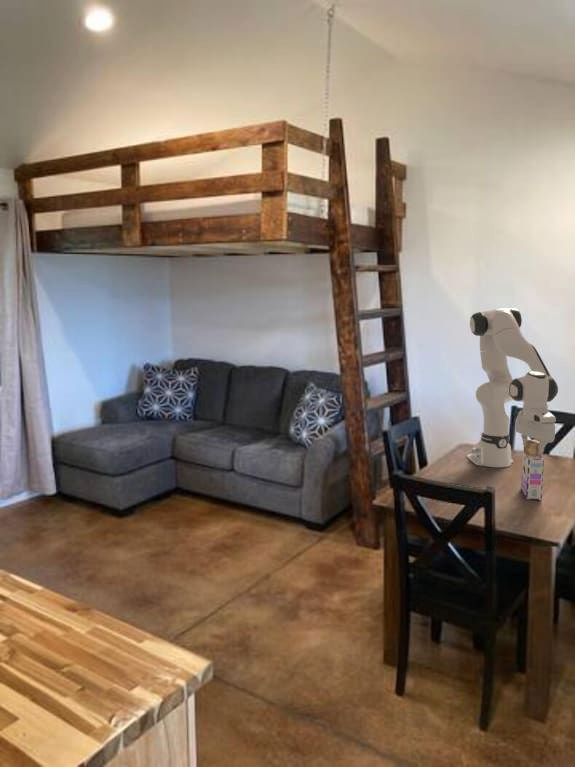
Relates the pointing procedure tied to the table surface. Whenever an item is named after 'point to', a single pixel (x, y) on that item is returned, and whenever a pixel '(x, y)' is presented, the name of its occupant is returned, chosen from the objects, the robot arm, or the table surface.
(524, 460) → the candy box
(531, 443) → the maple cube
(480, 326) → the robot arm
